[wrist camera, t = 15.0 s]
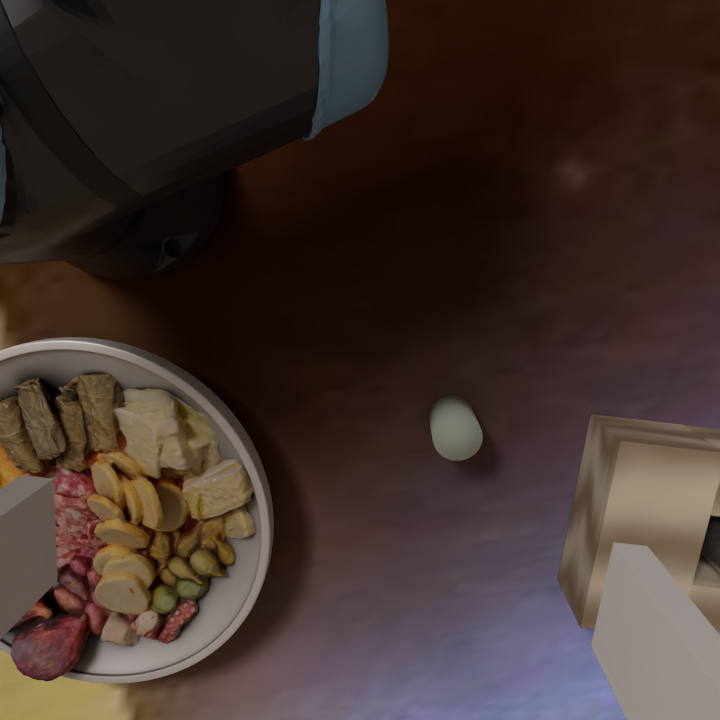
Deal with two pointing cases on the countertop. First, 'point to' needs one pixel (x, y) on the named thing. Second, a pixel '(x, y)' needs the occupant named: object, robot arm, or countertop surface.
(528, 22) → the countertop surface
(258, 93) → the robot arm
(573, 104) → the countertop surface
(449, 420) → the grey-green rounded piece
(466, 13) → the countertop surface
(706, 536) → the long steel pin
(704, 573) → the hole block
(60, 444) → the bowl
